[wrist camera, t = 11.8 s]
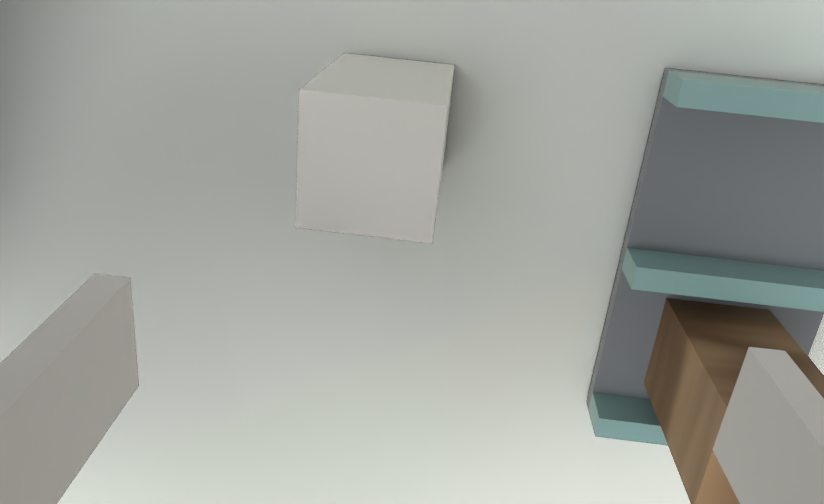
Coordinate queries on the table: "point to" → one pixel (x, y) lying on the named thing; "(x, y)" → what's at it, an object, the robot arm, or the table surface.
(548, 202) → the table surface
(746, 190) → the teal-ribbed grey panel
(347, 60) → the white rectangular block
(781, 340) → the walnut plug
